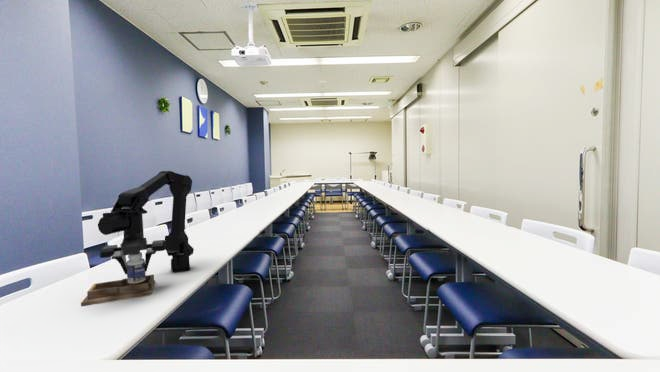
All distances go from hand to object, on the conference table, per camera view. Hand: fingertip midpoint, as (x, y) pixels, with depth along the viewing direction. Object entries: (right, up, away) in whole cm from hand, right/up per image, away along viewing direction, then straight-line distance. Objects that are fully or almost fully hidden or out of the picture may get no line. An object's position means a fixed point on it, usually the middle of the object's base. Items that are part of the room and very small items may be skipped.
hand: (136, 272), depth 105 cm
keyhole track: (-4, -7, -2) cm, 8 cm away
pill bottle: (0, -3, 0) cm, 3 cm away
